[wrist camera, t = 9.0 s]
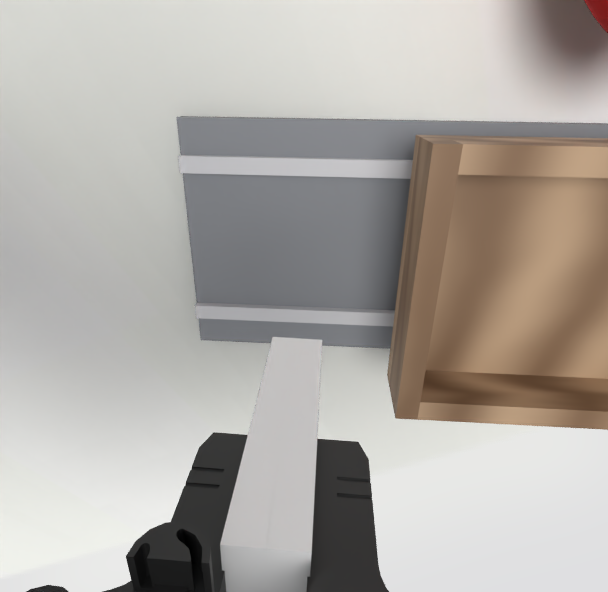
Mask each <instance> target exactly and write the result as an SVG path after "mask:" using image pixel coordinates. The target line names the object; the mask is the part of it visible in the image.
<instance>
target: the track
mask: <svg viewBox="0 0 608 592" xmlns="http://www.w3.org/2000/svg"><path fill="white" fill-rule="evenodd" d="M177 125H178V134H179V144H180V153H181V155H179V156H178V160H179V169H180V173H183V180H184V189H185V199H186V208H187V217H188V226H189V235H190V244H191V254H192V263H193V272H194V281H195V290H196V299H197V303H196V305H195V312H196V318H199V327H200V336H201V340H212V341H235V342H257V343H271V342H272V338H273V337H285V338H301V339H316V340H322V345H325V346H347V347H370V348H391V340H392V331H393V323H394V315H395V306H396V298H397V289H398V281H399V273H400V264H401V256H402V247H403V239H404V231H405V222H406V214H407V205H408V197H409V189H410V180H411V172H412V163H413V155H414V147H415V138H416V135H457V136H511V137H564V138H608V124H602V123H543V122H484V121H425V120H366V119H307V118H248V117H189V116H181V117H177Z"/></svg>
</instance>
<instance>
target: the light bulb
mask: <svg viewBox="0 0 608 592" xmlns="http://www.w3.org/2000/svg"><path fill="white" fill-rule="evenodd" d="M584 1H585V3H586V4H587V6H588V8H589V10H590V11H591V13H592V15H593V16H594V18H595V19H596V20H597V21H598V23H599V24H600V25H601V26H602V28H603V29H604V30H605V31H606V32H607V33H608V0H584Z"/></svg>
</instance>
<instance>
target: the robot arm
mask: <svg viewBox="0 0 608 592" xmlns="http://www.w3.org/2000/svg"><path fill="white" fill-rule="evenodd" d="M321 355H322V340H316V339H301V338H285V337H273V338H272V342H271V346H270V350H269V354H268V358H267V362H266V365H265V369H264V373H263V377H262V381H261V385H260V389H259V393H258V397H257V401H256V405H255V409H254V413H253V417H252V421H251V425H250V429H249V433H248V435H240V434H227V433H213V434H212V435H211V436H210V437H209V438H208V439H207V440H206V441H205V442H204V443H203V444H202V445H201V446H200V447H199V450H198V452H197V455H196V457H195V460H194V463H193V465H192V470H190V473H189V476H188V478H187V481H186V486H184V489H183V491H182V494H181V497H180V499H179V502H178V505H177V507H176V510H175V512H174V515H173V518H172V520H171V522H169V523H164V524H162V525H159V526H157V527H155V528H152V529H150V530H149V531H148V532H146V533H145V534H144V535H143V536H142V537H140V538H139V539H138V540H137V541H136V542H135V543H134V545H133V546H132V548H131V549H130V551H129V552H128V554H127V556H126V559H127V563H128V567H129V572H130V575H131V580H132V581H130V582H128V583H127V584H125V585H123V586H120V587H117V588H114V589H112V590H107V591H104V592H389V591H388V590H387V588H386V587H385V584H384V582H383V580H382V578H381V576H380V571H379V566H378V558H377V548H376V547H377V546H376V536H375V525H374V514H373V503H372V493H371V483H370V471H369V460H368V458H367V456H366V454H365V453H364V451H363V449H362V448H361V446H360V444H359V442H352V441H339V440H325V439H317V435H318V415H319V395H320V375H321ZM27 592H68V591H67V590H66V589H65V588H63V587H59V586H51V585H46V586H42V587H38V588H34V589H30V590H29V591H27Z"/></svg>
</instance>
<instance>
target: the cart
mask: <svg viewBox="0 0 608 592" xmlns="http://www.w3.org/2000/svg"><path fill="white" fill-rule="evenodd" d="M387 376H388V381H389V387H390V392H391V397H392V402H393V408H394V413H395V418H399V419H418V420H437V421H456V422H475V423H494V424H513V425H532V426H551V427H571V428H589V429H607V430H608V138H564V137H511V136H457V135H416V138H415V147H414V155H413V163H412V172H411V180H410V189H409V197H408V205H407V214H406V222H405V231H404V239H403V247H402V256H401V264H400V273H399V281H398V289H397V298H396V306H395V315H394V323H393V331H392V340H391V348H390V356H389V365H388V373H387Z"/></svg>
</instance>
